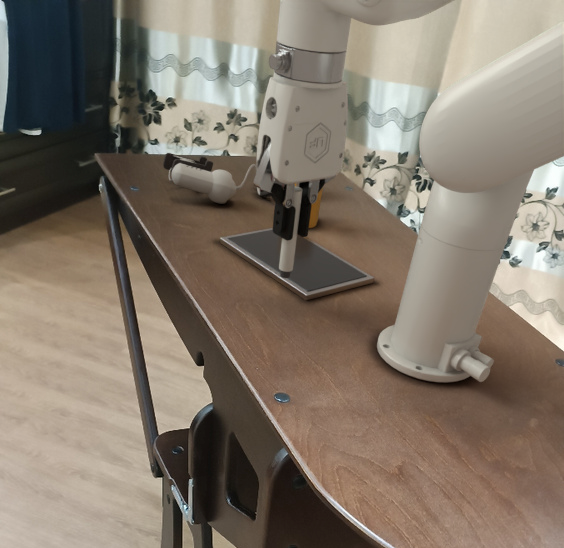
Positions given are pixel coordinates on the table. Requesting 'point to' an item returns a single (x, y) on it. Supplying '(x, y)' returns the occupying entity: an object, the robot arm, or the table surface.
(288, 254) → the stylus
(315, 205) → the pen cup
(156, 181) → the table surface
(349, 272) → the tablet
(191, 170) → the clip-on lamp
